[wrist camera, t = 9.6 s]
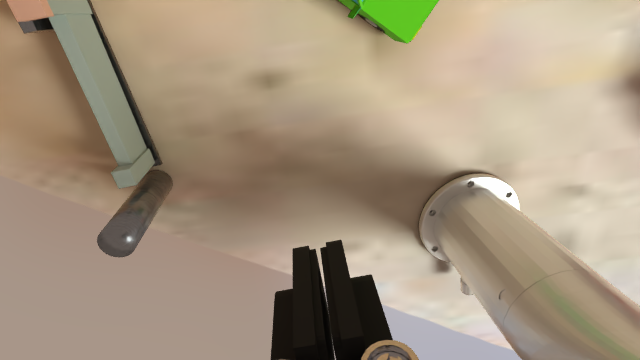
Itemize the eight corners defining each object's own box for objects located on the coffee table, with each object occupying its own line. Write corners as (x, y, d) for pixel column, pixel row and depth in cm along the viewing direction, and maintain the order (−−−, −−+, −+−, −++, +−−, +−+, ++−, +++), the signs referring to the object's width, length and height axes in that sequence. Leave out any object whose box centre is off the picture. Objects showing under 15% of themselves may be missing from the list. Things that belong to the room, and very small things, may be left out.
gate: (156, 162, 35) (131, 194, 29) (137, 166, 35) (107, 198, 29) (85, -11, 28) (31, -19, 22) (60, -7, 28) (-1, -13, 22)
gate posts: (176, 190, 38) (141, 252, 28) (138, 199, 38) (90, 264, 28) (67, -57, 28) (-48, -97, 18) (15, -46, 28) (-129, -79, 18)
